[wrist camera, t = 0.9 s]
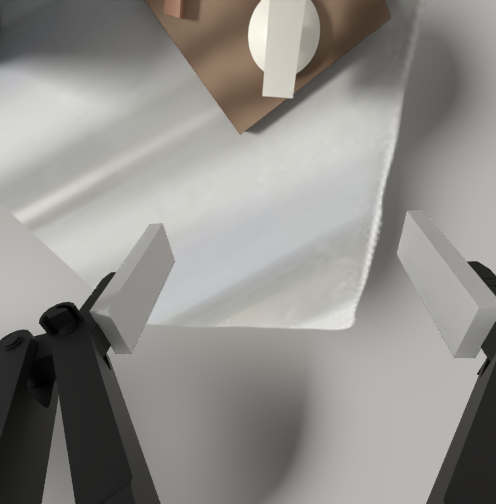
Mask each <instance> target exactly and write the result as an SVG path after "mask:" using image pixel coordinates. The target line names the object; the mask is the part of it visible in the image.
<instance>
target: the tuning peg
mask: <svg viewBox="0 0 496 504" xmlns="http://www.w3.org/2000/svg"><path fill="white" fill-rule="evenodd" d="M319 38H320V21H319V17H318V13H317V10H316V8H315V6H314V4H313V3H312V1H311V0H261V1H260V3H259V4H258V5H257V7H256V8H255V10H254V12H253V14H252V17H251V20H250V24H249V30H248V42H249V48H250V52H251V55H252V57H253V59H254V61H255V62H256V64H257V65H258V66H259V68H261V69H262V70H263V71H264V80H263V94H262V96H268V97H281V98H293V93H294V86H295V78H296V73H298V72H300V71H301V70H302V69H303V68H305V67H306V65H307V64H308V63H309V62H310V61H311V59H312V57H313V56H314V54H315V52H316V49H317V46H318V43H319Z"/></svg>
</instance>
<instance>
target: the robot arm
mask: <svg viewBox="0 0 496 504" xmlns="http://www.w3.org/2000/svg"><path fill="white" fill-rule="evenodd" d="M397 255H398V257H399V259H400V261H401V263H402V264H403V266H404V268H405V270H406V272H407V274H408V275H409V277H410V279H411V281H412V283H413V285H414V286H415V288H416V290H417V292H418V294H419V296H420V297H421V299H422V301H423V303H424V305H425V306H426V308H427V310H428V312H429V314H430V316H431V317H432V319H433V321H434V323H435V325H436V327H437V329H438V330H439V332H440V334H441V336H442V338H443V340H444V341H445V343H446V345H447V347H448V349H449V350H450V352H451V354H452V356H453V357H454V358H476V356H477V354H478V353H479V351H480V349H481V348H482V350H483V351H484V353H485V354H486V356H487V359H486V361H485V362H484V364H483V365H482V367H481V368H480V370H479V372H478V373H477V374H478V375H479V376H478V379H477V382H476V384H475V386H474V389H473V391H472V393H471V396H470V399H469V401H468V403H467V406H466V408H465V410H464V413H463V415H462V418H461V420H460V423H459V425H458V428H457V430H456V432H455V435H454V437H453V440H452V442H451V445H450V447H449V450H448V452H447V454H446V457H445V459H444V462H443V464H442V467H441V469H440V471H439V474H438V476H437V479H436V481H435V484H434V486H433V488H432V491H431V493H430V496H429V498H428V501H427V503H426V504H496V276H495V274H494V273H493V272H492V271H491V270H490V269H489V268H487V267H485V266H484V265H482V264H481V263H479V262H477V261H472V262H466V260H465V259H464V258H463V257H462V256H461V254H460V253H459V252H458V251H457V250H456V248H455V247H454V246H453V245H452V244H451V243H450V242H449V240H448V239H447V238H446V237H445V236H444V235H443V233H442V232H441V231H440V229H439V228H438V227H437V226H436V225H435V223H434V222H433V221H432V220H431V219H430V218H429V216H428V215H427V214H426V213H425V212H424V210H418V211H407V214H406V219H405V222H404V226H403V231H402V235H401V239H400V243H399V247H398V252H397ZM174 263H175V260H174V257H173V254H172V251H171V248H170V244H169V241H168V238H167V235H166V232H165V229H164V226H163V223H162V224H150V225H149V226H148V228H147V229H146V231H145V232H144V234H143V235H142V236H141V238H140V239H139V241H138V242H137V244H136V245H135V246H134V248H133V249H132V251H131V252H130V254H129V255H128V256H127V258H126V259H125V261H124V262H123V264H122V265H121V267H120V268H119V269H118V271H117V272H111V273H110V274H108V275H107V276H106V277H105V278H103V279H102V280H101V282H100V283H99V284H98V286H97V287H96V289H95V290H94V291H93V293H92V295H90V296H89V298H88V299H87V301H86V302H85V303H84V305H83V306H82V307H81V309H80V310H78V309H77V308H76V306H75V305H74V303H71V302H63V303H60V304H57V305H55V306H53V307H51V308H49V309H48V310H47V311H46V312H45V313H44V314H43V315H42V316H41V318H40V320H39V324H40V325H41V326H42V327H43V329H44V330H45V331H46V332H47V333H45V334H42V335H38V336H33V335H32V334H31V333H30V332H29V331H28V330H18V331H15V332H13V333H10V334H8V335H7V336H5V337H4V338H2V339H1V340H0V504H41V503H42V496H43V490H44V484H45V478H46V472H47V465H48V459H49V453H50V447H51V440H52V434H53V428H54V422H55V415H56V409H57V403H58V396H59V399H60V406H61V412H62V418H63V425H64V432H65V438H66V445H67V451H68V457H69V464H70V470H71V477H72V484H73V490H74V497H75V503H76V504H160V501H159V498H158V495H157V492H156V489H155V486H154V484H153V481H152V478H151V475H150V473H149V469H148V467H147V464H146V461H145V458H144V455H143V452H142V450H141V447H140V444H139V441H138V438H137V435H136V433H135V430H134V427H133V424H132V421H131V419H130V415H129V413H128V410H127V407H126V404H125V401H124V398H123V396H122V393H121V390H120V387H119V384H118V382H117V378H116V376H115V373H114V370H113V367H112V364H111V362H110V359H109V357H108V355H107V351H108V349H109V348H110V346H111V347H112V349H113V350H114V352H115V354H132V352H133V350H134V348H135V346H136V344H137V342H138V339H139V337H140V335H141V333H142V331H143V329H144V327H145V325H146V322H147V320H148V318H149V316H150V314H151V312H152V310H153V307H154V305H155V303H156V301H157V299H158V297H159V295H160V292H161V290H162V288H163V286H164V284H165V282H166V280H167V277H168V275H169V273H170V271H171V269H172V267H173V265H174Z"/></svg>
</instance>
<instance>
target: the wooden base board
mask: <svg viewBox="0 0 496 504" xmlns="http://www.w3.org/2000/svg"><path fill="white" fill-rule="evenodd" d="M144 1H145V2H146V4H147V5H148V6H149V8H150V9H151V11H152V12H153V13H154V15H155V16H156V18H157V19H158V20H159V22H160V23H161V25H162V26H163V27H164V29H165V30H166V32H167V33H168V34H169V36H170V37H171V39H172V40H173V41H174V43H175V44H176V46H177V47H178V49H179V50H180V51H181V53H182V54H183V56H184V57H185V58H186V60H187V61H188V63H189V64H190V65H191V67H192V68H193V70H194V71H195V72H196V74H197V75H198V77H199V78H200V79H201V81H202V82H203V84H204V85H205V86H206V88H207V89H208V91H209V92H210V93H211V95H212V96H213V98H214V99H215V100H216V102H217V103H218V105H219V106H220V107H221V109H222V110H223V112H224V113H225V114H226V116H227V117H228V119H229V120H230V121H231V123H232V124H233V126H234V127H235V128H236V130H237V131H238V133H239V134H240V135H241V134H242V133H243V132H244V131H246V130H247V129H248V128H250V127H251V126H252V125H253V124H255V123H256V122H257V121H259V120H260V119H261V118H263V117H264V116H265V115H266V114H268V113H269V112H270V111H272V110H273V109H274V108H275V107H277V106H278V105H279V104H281V103H282V102H283V101H284V100H286V99H287V98H281V97H268V96H262V94H263V80H264V71H263V70H262V69H261V68H259V66H258V65H257V64H256V62H255V61H254V59H253V57H252V55H251V52H250V48H249V42H248V30H249V24H250V20H251V17H252V14H253V12H254V10H255V8H256V7H257V5H258V4H259V3H260V1H261V0H144ZM311 1H312V3H313V4H314V6H315V8H316V10H317V13H318V17H319V21H320V38H319V43H318V46H317V49H316V52H315V54H314V56H313V57H312V59H311V61H310V62H309V63H308V64H307V65H306V67H305V68H303V69H302V70H301V71H300V72H298V73H296V78H295V86H294V93H295V92H296V91H297V90H299V89H300V88H301V87H303V86H304V85H305V84H306V83H308V82H309V81H310V80H312V79H313V78H314V77H315V76H317V75H318V74H319V73H321V72H322V71H323V70H324V69H326V68H327V67H328V66H330V65H331V64H332V63H334V62H335V61H336V60H337V59H339V58H340V57H341V56H343V55H344V54H345V53H346V52H348V51H349V50H350V49H352V48H353V47H354V46H355V45H357V44H358V43H359V42H361V41H362V40H363V39H365V38H366V37H367V36H368V35H370V34H371V33H372V32H374V31H375V30H376V29H377V28H379V27H380V26H381V25H383V24H384V23H385V22H386V21H388V20H389V19H390V18H391V16H390V14H389V11H388V8H387V6H386V3H385V0H311ZM294 93H293V94H294Z"/></svg>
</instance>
